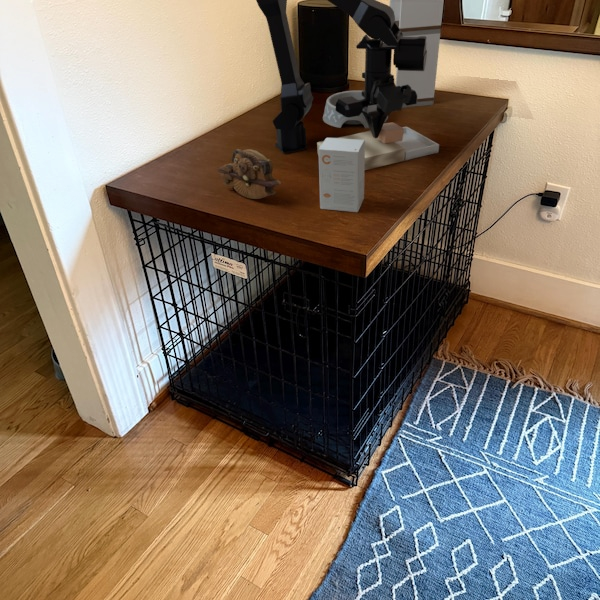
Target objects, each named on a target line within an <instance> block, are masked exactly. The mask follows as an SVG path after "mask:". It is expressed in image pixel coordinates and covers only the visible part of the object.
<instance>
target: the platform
mask: <svg viewBox="0 0 600 600" xmlns="http://www.w3.org/2000/svg"><path fill="white" fill-rule="evenodd" d="M338 138H342V139H358V140H365V168H364V171H367V170H371V169H376V168H380V167H383V166H387V165H391V164H395V163H400V162H405V160H404V157H405V148H403V147H402V146H400V145H398V144H397V143H395V142H392V143H386V144H384V143H383V142H381V141H380V140H378V139H376V138H374V137H373V136H372V133H371V131H370V130H367V131H362V132H358V133H355V134H354V133H353V134H350V135H345V136H339V137H338ZM324 141H325V140H321V141H318V142H316V145H317V146H316V148H317V150H316V151H317V155H318V156H319V152H318V149H319V147H320V146H321V145H322V143H323V142H324Z"/></svg>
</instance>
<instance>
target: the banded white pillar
mask: <svg viewBox="0 0 600 600" xmlns="http://www.w3.org/2000/svg"><path fill="white" fill-rule="evenodd" d="M388 6H390V7H391V8H392V9H393V11H394V15H395V22H396V24H397V26H398V27H399V29H400V30H401V32H402V33H403V37H419V36H426V50H427V58H426V65H425V70H424V71H403V70H398V68H396V70H395V71H396V76H395V86H400V87H401V86H403V85H409V86H410V87H411V89H412V90H414V91H416V93H417V103H416V104H413V105H408V106H406V105H405V104H403V107H402V109H404V108H411V107H421V106H432V105H434V102H435V101H434V100H435V90H436V82H437V80H436V79H437V70H438V61H439V60H438V59H439V50H440V40H441V39H440V38H441V31H442V19H443V13H444V12H443V11H444V0H389V5H388Z"/></svg>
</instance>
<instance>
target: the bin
mask: <svg viewBox="0 0 600 600" xmlns="http://www.w3.org/2000/svg"><path fill="white" fill-rule="evenodd" d="M401 127H402V126H401ZM402 128H404V132H403V140H402V141H399V142H395V143H397V144H398V145H400V146H402V147H403V148H405V157H404V161H408V160H409V161H410V160H412V159H417V158H421V157H426V156H428V155H434V154H438V153H439V150H440V144H439V143H437V142H436V141H433V140H432V139H430V138H428V137H426V136H425V135H423V134H421V133H419V132H418V131H416V130H414V129H412V128H410V127H408V126H403V127H402Z"/></svg>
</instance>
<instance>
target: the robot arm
mask: <svg viewBox="0 0 600 600" xmlns="http://www.w3.org/2000/svg"><path fill="white" fill-rule="evenodd" d="M255 1H256V3H257V6H258V8H259V9H260V10H261V12H262V14H263V16H265V19H266V21H267V22H266V23H267V27H268V30H269V35H270V39H271V44H272V48H273V53H274V57H275V61H276V66H277V69H278V74H279V79H280V82H281V84H280V85H281V86H280V97H279V98H280V112H279V113H278V114H277V116H276V117H274V119H273V120H272V123H273V126H274V128H275V129H276V130H275V132H276V134H275V135H276V143H274V147H276V149H278V150H279V151H280V152H281V153H282V154H285V155H286V154H291V153H296V152H301V151H304V150H308V146H307V145H306V144H307V128H306V127H305V124H304V122H303V121H302V120H303V119H304V118H305V116H306V115H307V114H308V112H309V111H310V109H311V107H312V104H313V103H312V102H313V100H314V99H315V98H314V96H313V95H312V89H311V88H312V87H311V83H310V82H307V83H305V82H304V81H303V80H302V78H301V76H300V71H299V66H298V62H297V56H296V53H295V52H296V51H295V48H294V43H293V39H292V33H291V29H290V24H289V21H288V16H287V6H288V5H287V3H288V2H287V1H288V0H255ZM327 1H328V2H329V3H331V5H333V6H335V7H337V8H338V9H340V10H341V11H342V12H344V13H346V14H348V16H349V17H350V18H351V19H352V20H353V22H355V24H356V25H357V27H358V28H359V29H360V30H361V31H363V33H364V34H365V35H364V36H363V37H362V39H361V40H360V41H359V42H358V43H357V44H356V49H358V50H365V52H364V53H365V55H364V56H365V57H364V59H365V62H364V72H362V73H361V78H362V79H364V90H361V91H362V96H363V97H364V99H362V100H357V99H355V98H354V97H352V96H350V97H345V98H340V99H338V100H337V102H336V111H337V112H338V113H340V114H342V115H343V116H345V117H349V118H350V117H355V116H359V115H360V114H361V113H363V115H364V117H365V119H366V121H367V123H368V126H369V128H368V129H369V131H371V133H372V136H373V137H374V138H378V136H379V134H380V131H381V129H382V126H383V124H384V122H385V120H386V118H387V116H388V117H389V115H390V114H392V113H393V112H394V113H395V112H396V111H397V112H400V111H402V109H403V108H404V107H403V104H405V105H406V106H408V105H413V104H416V103H417V93H416V91H414V90H412V89H411V87H410V86H409V85H403V86H401V87H400V86H396V82H395V77H394V76H395V75H394V74H392V61H393V66H394V67H395V69H397V68H398V70H403V71H424V70H425V65H426V58H427V50H426V36H419V37H403V33H402V32H401V30H400V29H399V27H398V26H397V24H396V22H395V15H394V11H393V9H392V8H391V7H390V6H389V5H388V4H386V3H383V2H381V1H378V0H327ZM392 55H393V58H392ZM402 107H403V108H402ZM385 123H386V122H385Z"/></svg>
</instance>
